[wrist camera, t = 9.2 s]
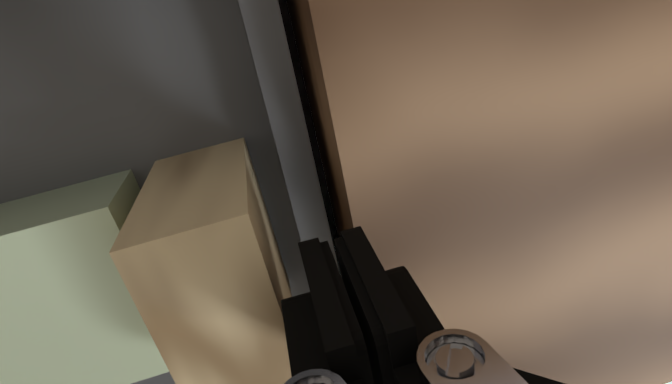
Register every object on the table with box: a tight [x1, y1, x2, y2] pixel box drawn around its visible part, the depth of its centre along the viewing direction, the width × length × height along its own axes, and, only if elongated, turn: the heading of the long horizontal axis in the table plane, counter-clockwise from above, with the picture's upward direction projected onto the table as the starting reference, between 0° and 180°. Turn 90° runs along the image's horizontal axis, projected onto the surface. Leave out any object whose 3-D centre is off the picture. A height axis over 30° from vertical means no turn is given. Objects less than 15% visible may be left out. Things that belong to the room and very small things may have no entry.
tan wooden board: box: [286, 0, 672, 384], centre depth 16 cm, size 20×18×5 cm
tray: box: [0, 0, 339, 384], centre depth 15 cm, size 20×15×4 cm
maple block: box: [109, 138, 292, 384], centre depth 14 cm, size 6×6×3 cm
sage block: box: [0, 169, 169, 384], centre depth 14 cm, size 6×6×3 cm
